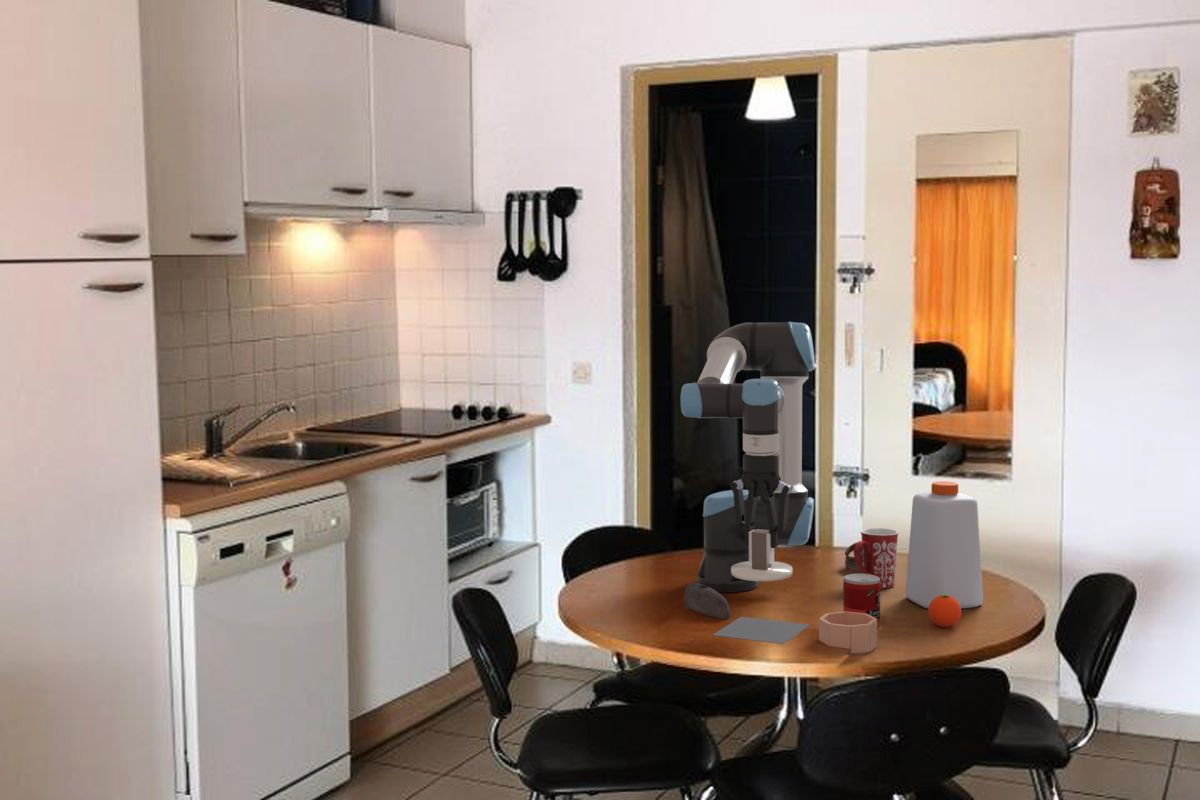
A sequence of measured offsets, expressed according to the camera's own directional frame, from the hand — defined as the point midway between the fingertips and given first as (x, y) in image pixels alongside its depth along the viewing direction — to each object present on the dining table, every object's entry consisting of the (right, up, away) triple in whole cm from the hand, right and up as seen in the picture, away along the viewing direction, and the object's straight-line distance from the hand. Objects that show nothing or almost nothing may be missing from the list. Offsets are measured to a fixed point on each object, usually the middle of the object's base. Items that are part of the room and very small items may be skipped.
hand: (761, 561), depth 292 cm
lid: (0, -3, 0) cm, 3 cm away
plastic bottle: (+45, -13, +27) cm, 54 cm away
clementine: (+41, -15, +7) cm, 44 cm away
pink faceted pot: (+17, -17, -7) cm, 25 cm away
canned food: (+23, -15, +8) cm, 28 cm away
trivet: (0, -16, +1) cm, 16 cm away
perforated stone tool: (-10, -15, +17) cm, 24 cm away
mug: (+32, -11, +43) cm, 55 cm away
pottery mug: (+33, -9, +62) cm, 71 cm away
